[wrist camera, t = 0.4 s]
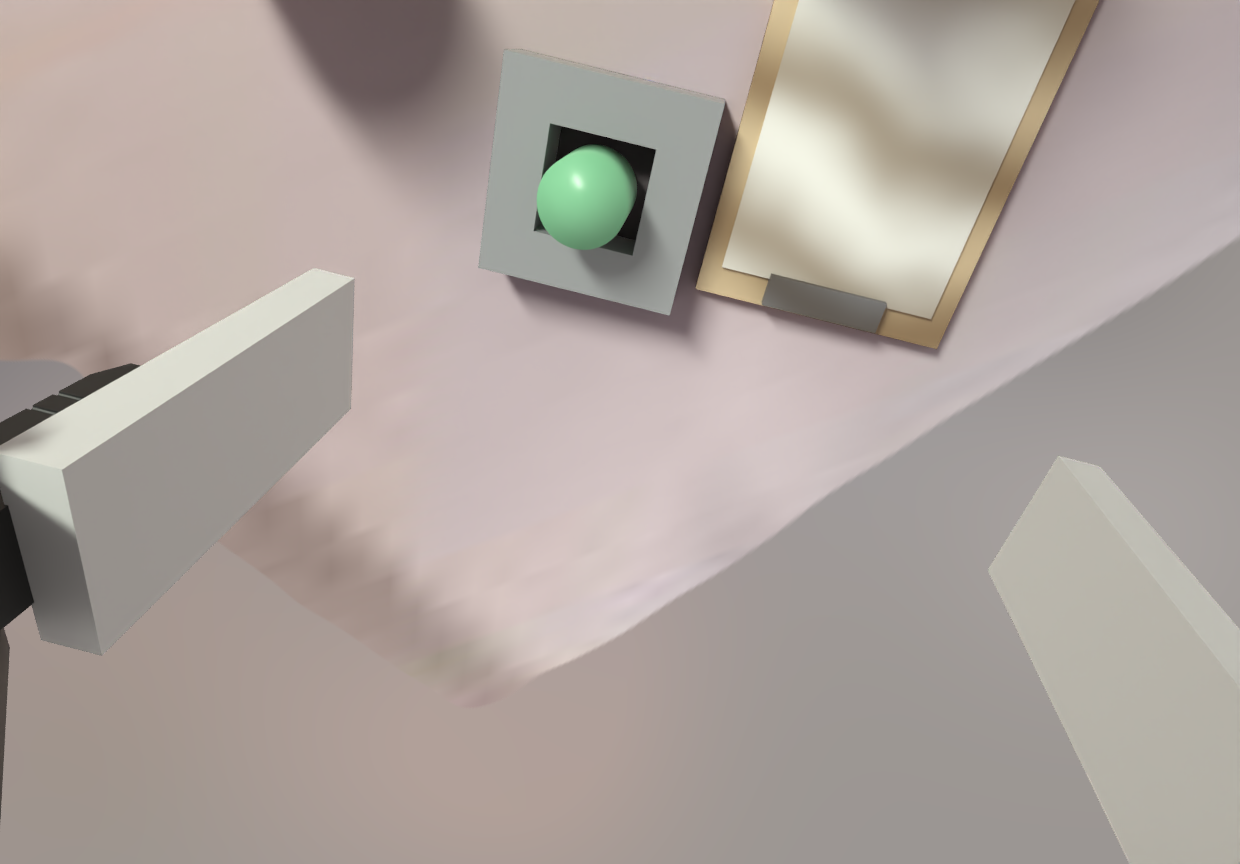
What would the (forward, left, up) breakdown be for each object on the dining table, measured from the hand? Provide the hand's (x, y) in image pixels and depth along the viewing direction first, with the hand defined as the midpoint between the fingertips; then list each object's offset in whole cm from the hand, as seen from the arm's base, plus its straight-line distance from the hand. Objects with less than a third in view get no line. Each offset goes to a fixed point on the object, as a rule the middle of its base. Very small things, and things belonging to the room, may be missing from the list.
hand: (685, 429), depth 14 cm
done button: (+1, -5, -24) cm, 25 cm away
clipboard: (-4, +7, -26) cm, 27 cm away
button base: (+1, -5, -26) cm, 26 cm away
